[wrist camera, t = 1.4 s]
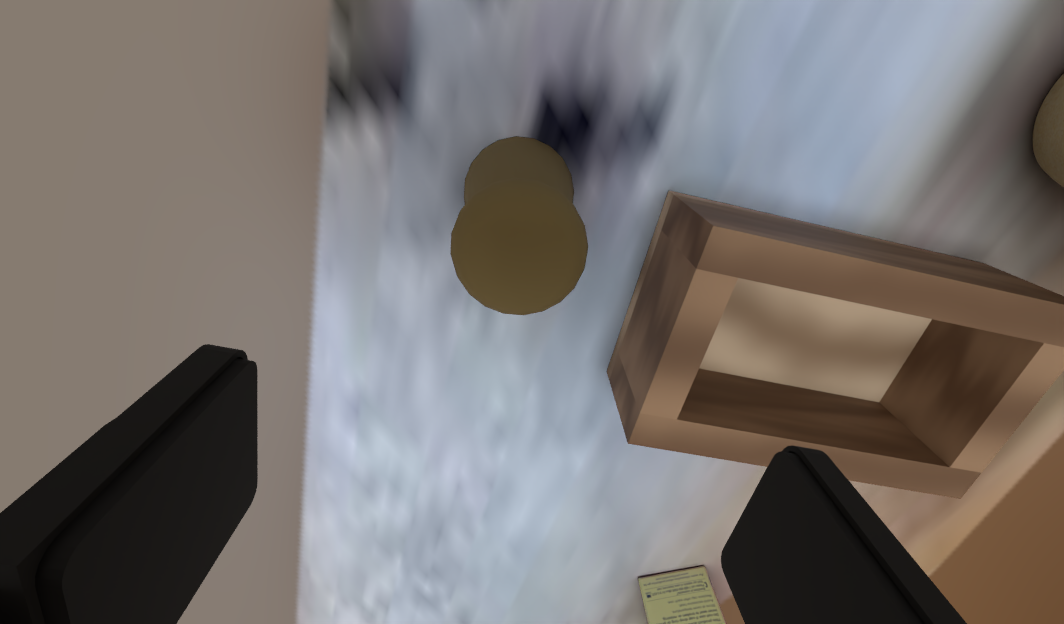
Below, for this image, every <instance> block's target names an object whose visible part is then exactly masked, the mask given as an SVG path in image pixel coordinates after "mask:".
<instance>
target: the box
mask: <svg viewBox="0 0 1064 624" xmlns="http://www.w3.org/2000/svg"><path fill="white" fill-rule="evenodd" d="M638 581H639V585H640V590H641V594H642V598H643V603H644V607H645V612H646V617H647V621H648V624H726V621H725V619H724V616H723V613H722V611H721V608H720V605H719V603H718V600H717V597H716V595H715V592H714V589H713V587H712V584H711V581H710V579H709V576H708V573H707V571H706V568H705V567H704V566H700V567H695V568H689V569H684V570H678V571H673V572H667V573H661V574H656V575H652V576H647V577H641V578H638Z"/></svg>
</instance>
